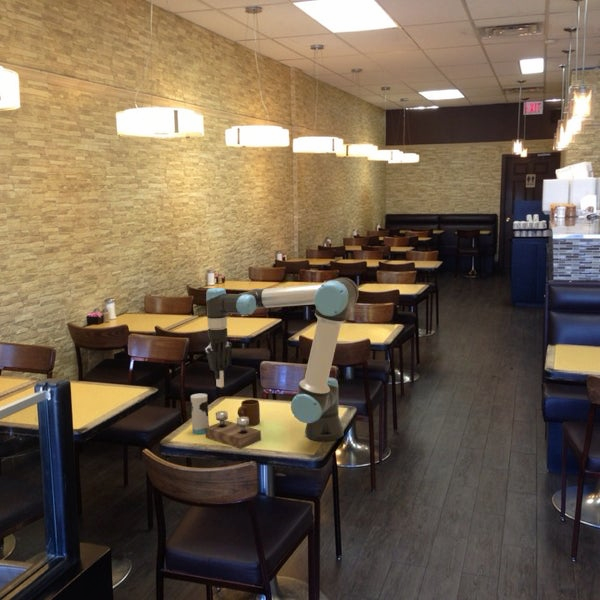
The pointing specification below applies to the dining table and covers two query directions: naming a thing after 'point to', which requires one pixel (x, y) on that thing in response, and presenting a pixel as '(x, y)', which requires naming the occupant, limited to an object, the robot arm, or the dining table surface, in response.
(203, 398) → the cup
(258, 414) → the mug
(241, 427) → the near knob
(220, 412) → the far knob
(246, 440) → the mount block
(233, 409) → the dining table surface
